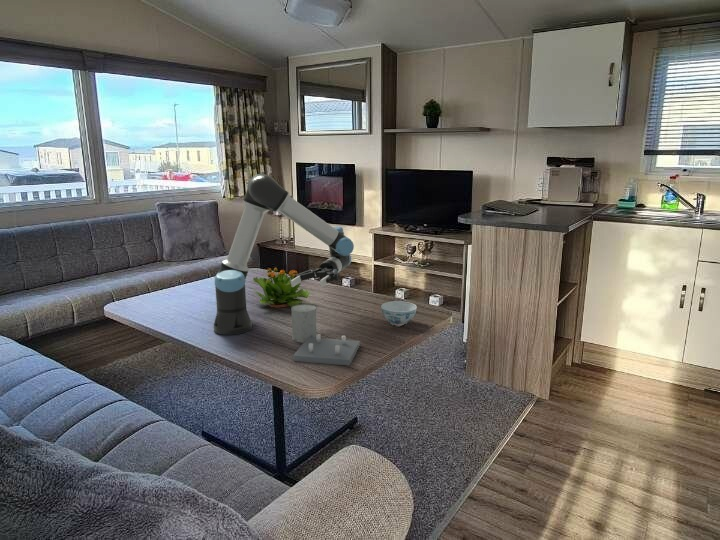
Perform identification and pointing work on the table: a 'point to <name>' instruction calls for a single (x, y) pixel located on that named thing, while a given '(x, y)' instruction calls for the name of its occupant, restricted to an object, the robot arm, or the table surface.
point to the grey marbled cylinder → (303, 322)
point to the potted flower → (280, 289)
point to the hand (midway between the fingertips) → (306, 283)
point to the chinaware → (398, 311)
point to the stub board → (327, 350)
